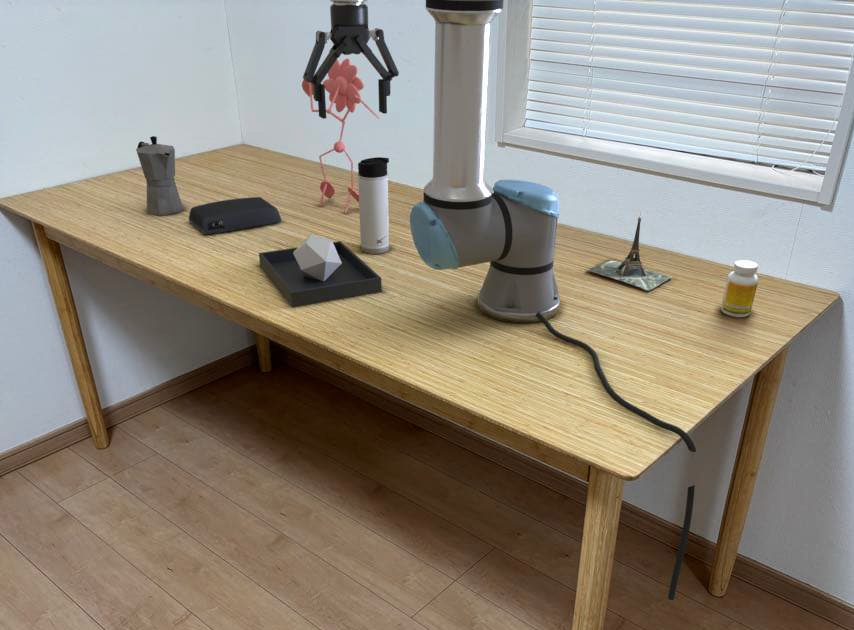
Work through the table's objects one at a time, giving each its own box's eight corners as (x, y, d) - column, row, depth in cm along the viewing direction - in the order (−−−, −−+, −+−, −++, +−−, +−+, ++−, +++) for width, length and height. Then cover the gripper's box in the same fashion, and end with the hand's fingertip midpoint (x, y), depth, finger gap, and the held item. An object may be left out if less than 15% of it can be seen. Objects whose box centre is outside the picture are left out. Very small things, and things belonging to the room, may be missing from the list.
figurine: (367, 221, 194) (361, 67, 176) (295, 200, 209) (283, 55, 191) (408, 206, 205) (407, 59, 187) (337, 188, 219) (330, 49, 201)
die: (350, 278, 164) (337, 231, 164) (335, 271, 155) (322, 222, 156) (313, 290, 166) (300, 245, 166) (296, 285, 157) (283, 236, 158)
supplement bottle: (716, 306, 153) (726, 258, 148) (744, 306, 152) (755, 258, 148) (725, 317, 148) (736, 269, 143) (754, 318, 148) (766, 269, 143)
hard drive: (187, 221, 193) (185, 204, 191) (263, 209, 202) (261, 193, 200) (204, 237, 184) (202, 219, 182) (283, 223, 192) (281, 207, 190)
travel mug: (386, 255, 175) (384, 162, 164) (357, 253, 176) (353, 160, 165) (393, 245, 180) (392, 155, 170) (365, 243, 181) (362, 153, 171)
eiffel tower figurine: (585, 272, 167) (592, 209, 160) (611, 260, 173) (619, 199, 166) (648, 292, 158) (659, 227, 151) (674, 278, 164) (685, 215, 157)
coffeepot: (195, 212, 200) (184, 138, 190) (160, 220, 194) (148, 144, 185) (165, 198, 209) (153, 127, 200) (131, 206, 204) (117, 133, 194)
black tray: (381, 291, 157) (381, 277, 156) (292, 307, 151) (291, 292, 149) (341, 253, 175) (340, 240, 174) (260, 266, 169) (258, 252, 167)
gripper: (399, 0, 166) (400, 107, 177) (282, 3, 157) (291, 116, 168) (413, 3, 160) (414, 113, 171) (293, 6, 151) (301, 123, 162)
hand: (353, 115), depth 170 cm, fingers open, 13 cm apart
